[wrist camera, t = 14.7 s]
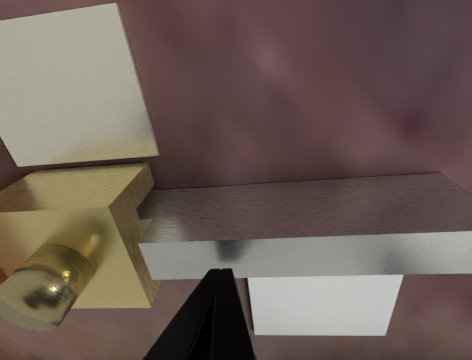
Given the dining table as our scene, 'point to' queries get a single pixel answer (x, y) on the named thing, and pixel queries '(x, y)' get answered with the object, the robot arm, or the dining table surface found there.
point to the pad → (323, 304)
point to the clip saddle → (73, 243)
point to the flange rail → (221, 197)
